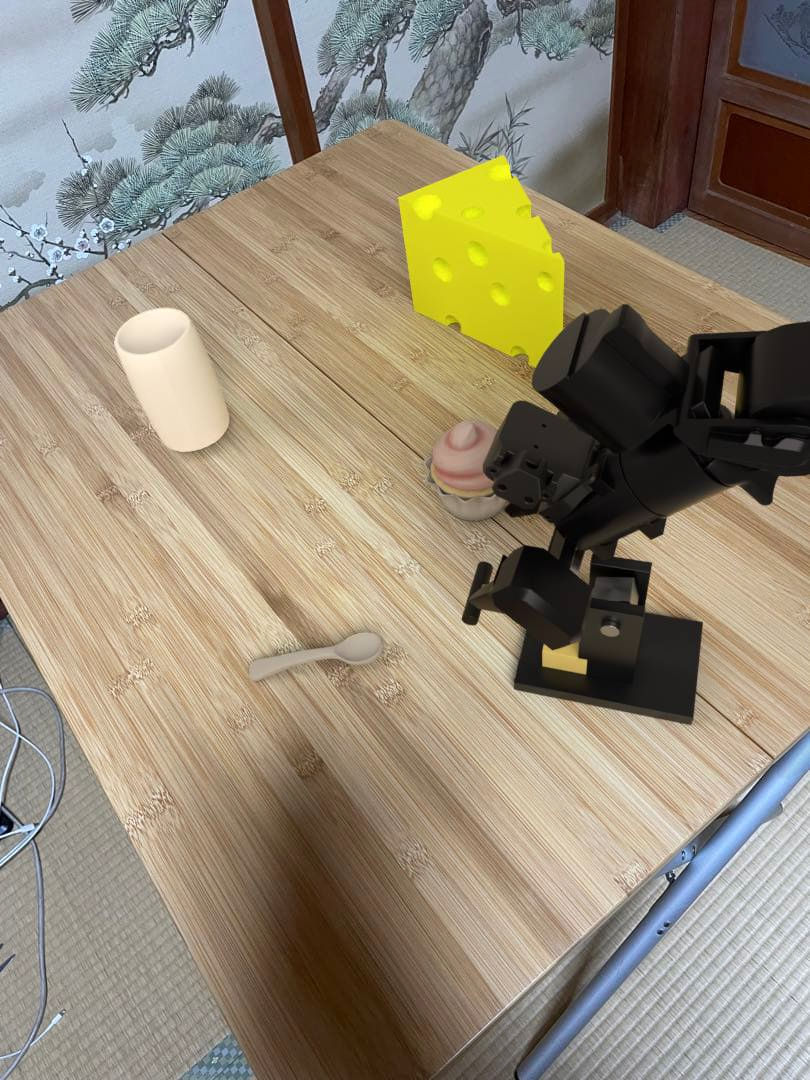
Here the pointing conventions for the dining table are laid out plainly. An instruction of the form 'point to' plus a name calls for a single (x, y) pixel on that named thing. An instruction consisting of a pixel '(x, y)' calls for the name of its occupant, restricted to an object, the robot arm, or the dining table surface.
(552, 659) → the butter
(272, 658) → the spoon
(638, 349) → the robot arm
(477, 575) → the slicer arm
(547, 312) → the cheese wedge
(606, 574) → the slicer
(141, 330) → the cup
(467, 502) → the cupcake
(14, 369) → the dining table surface
